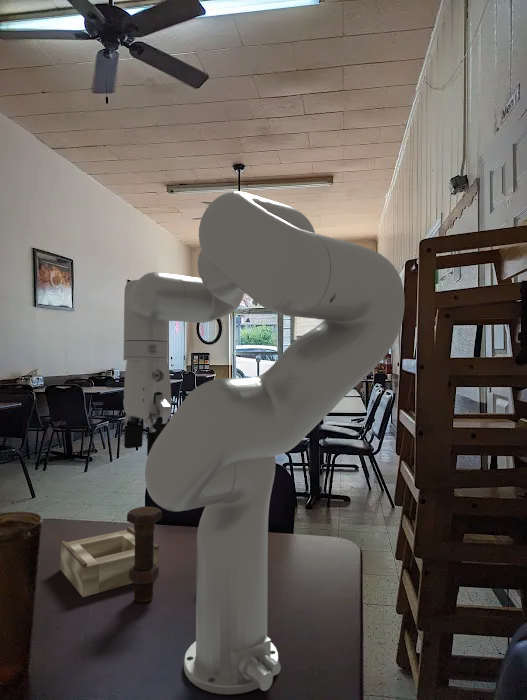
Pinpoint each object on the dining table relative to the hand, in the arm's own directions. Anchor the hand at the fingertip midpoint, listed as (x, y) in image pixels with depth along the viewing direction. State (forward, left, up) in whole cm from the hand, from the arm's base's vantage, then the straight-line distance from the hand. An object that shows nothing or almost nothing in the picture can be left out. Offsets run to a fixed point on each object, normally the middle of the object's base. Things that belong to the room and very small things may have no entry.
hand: (144, 451), depth 84 cm
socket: (+14, +1, -25) cm, 29 cm away
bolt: (0, 0, -25) cm, 25 cm away
